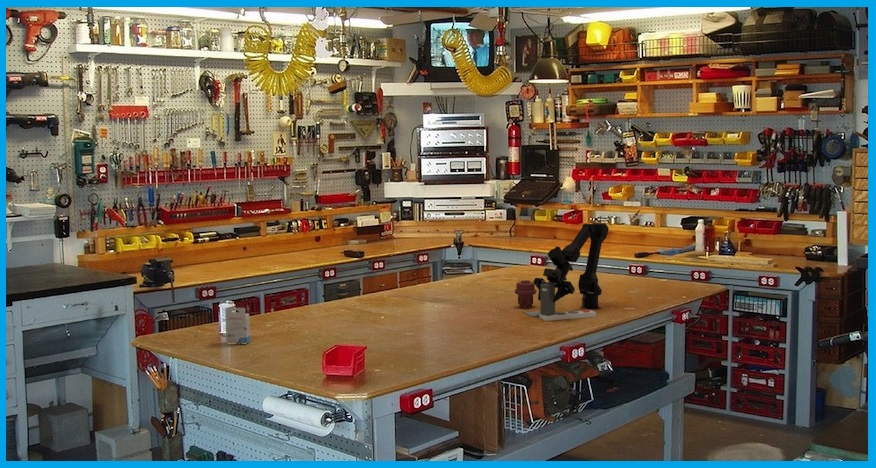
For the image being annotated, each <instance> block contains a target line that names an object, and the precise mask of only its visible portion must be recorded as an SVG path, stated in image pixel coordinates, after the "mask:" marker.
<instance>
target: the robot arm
mask: <svg viewBox="0 0 876 468" xmlns="http://www.w3.org/2000/svg"><path fill="white" fill-rule="evenodd" d="M609 230H610V229H609V226H608V224H607V223H603V222H602V223H601V222H592V223H587V222H586V223H583V224H582V225H581V229H580V230H579V232H578V233H577V234H576V236H575V237H574V239H573V240H572V242H571V243H569V244H568V245H565V246H564V247H563V248H562V249H561V246H555V247H554V248H552V249H550V251H548V252H547V257H548V259H549V260H550V261H551V263H552V264H553V265H554V266H555V269H553V268H547V267H545V268H544V270H543V274H542V276H544V277H546V280H547V281H546V280H545V279H544V278H543V277H534V280H533V281H532V282H533V283H534V284H535V287H536V288H537V289H538V296H537V300H538V302H539V301H540V285H541V284H546V283H548V284H555V289H557V290H556V291H555V296H554V298H553V303H554V302H555V303H556V302H557V301H559V300H560V299H562V298H563V297H565V296H568V295H570V294H571V295H573V294H574V292H575V288H576V287H574V285H573V283H572V282H571V281H569V280H567V279H568V278H567V275H568V274H569V272H573V269H574V268H573V266H572V264H571V263H577V262H578V260H579V258H580V256H581V249H582V248H583V247H584V245H585V244H586V242H587V241H588V239H589V238H590V243H589V244H590V245H589V250H588V255H587V261H586V266H585V271H584V272H583V273H580V274H579V278H578V283H577V284H578V291H579V295H582V297H581V308H582V309H588V310H594V309H600V308H601V307H600V306H599V296H601V295H602V292H603V291H602V289H601V287H600V285H599V279H598V275H597V271H598V269H597V268H598V264H599V260H600V255H601V249H602V244H603V242H604V241H605V240H606V239H607V237H608V233H609Z"/></svg>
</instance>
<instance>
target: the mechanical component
mask: <svg viewBox="0 0 876 468" xmlns="http://www.w3.org/2000/svg"><path fill="white" fill-rule="evenodd" d="M515 286H516V288H515V289H514V294H516V295H517V304H518V305H519V307H520V308H523V309H524V310H525V309H529V308H533V305H534V295H536V294H537V289H536V288H535V287H536V285H535V284H534V283H533V281H530V279H529V280H527V279H523V280H521V281H517V282H516V285H515Z"/></svg>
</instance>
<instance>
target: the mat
mask: <svg viewBox="0 0 876 468" xmlns="http://www.w3.org/2000/svg"><path fill="white" fill-rule="evenodd" d="M524 314H525V315H527V316H529V317H532V318H535V317H540V311H532V312H530V311H529V312H524Z"/></svg>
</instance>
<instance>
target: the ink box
mask: <svg viewBox="0 0 876 468" xmlns="http://www.w3.org/2000/svg"><path fill="white" fill-rule="evenodd" d="M235 311H237V312H235ZM250 323H251V322H250V313H246V307H225V337H226V338H225V339H226V341H225V342H226V344H227V343H247V342H249V341H250V342H251V327H250Z"/></svg>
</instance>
